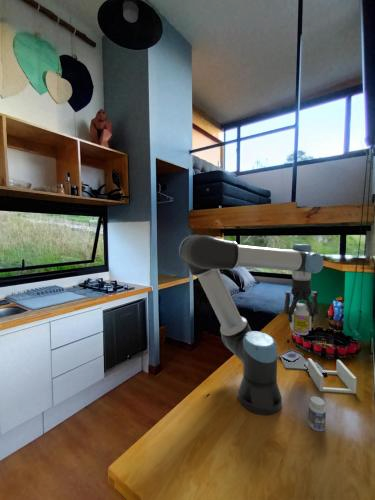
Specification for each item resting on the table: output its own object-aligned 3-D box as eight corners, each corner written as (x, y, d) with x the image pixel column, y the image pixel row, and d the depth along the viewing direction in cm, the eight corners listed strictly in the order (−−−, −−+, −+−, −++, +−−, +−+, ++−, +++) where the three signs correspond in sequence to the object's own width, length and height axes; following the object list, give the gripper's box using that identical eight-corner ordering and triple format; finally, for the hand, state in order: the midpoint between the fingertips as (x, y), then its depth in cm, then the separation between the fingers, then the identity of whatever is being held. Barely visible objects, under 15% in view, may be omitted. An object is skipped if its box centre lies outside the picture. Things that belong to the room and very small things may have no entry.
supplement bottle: (294, 335, 106) (295, 306, 105) (290, 329, 113) (291, 302, 112) (311, 335, 105) (311, 307, 104) (305, 329, 112) (306, 302, 111)
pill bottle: (316, 433, 73) (317, 407, 73) (304, 421, 78) (305, 397, 77) (328, 429, 75) (329, 404, 74) (317, 418, 79) (317, 394, 79)
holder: (319, 390, 93) (320, 376, 92) (307, 371, 105) (307, 358, 105) (355, 393, 91) (356, 378, 90) (339, 373, 104) (339, 359, 103)
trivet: (285, 368, 108) (285, 367, 108) (279, 356, 118) (279, 355, 118) (311, 370, 106) (311, 369, 106) (302, 357, 117) (302, 356, 117)
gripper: (281, 280, 104) (280, 332, 106) (328, 280, 102) (327, 332, 104) (276, 277, 111) (275, 325, 113) (320, 277, 110) (319, 326, 112)
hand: (300, 329), depth 109 cm, fingers closed on supplement bottle, 7 cm apart
